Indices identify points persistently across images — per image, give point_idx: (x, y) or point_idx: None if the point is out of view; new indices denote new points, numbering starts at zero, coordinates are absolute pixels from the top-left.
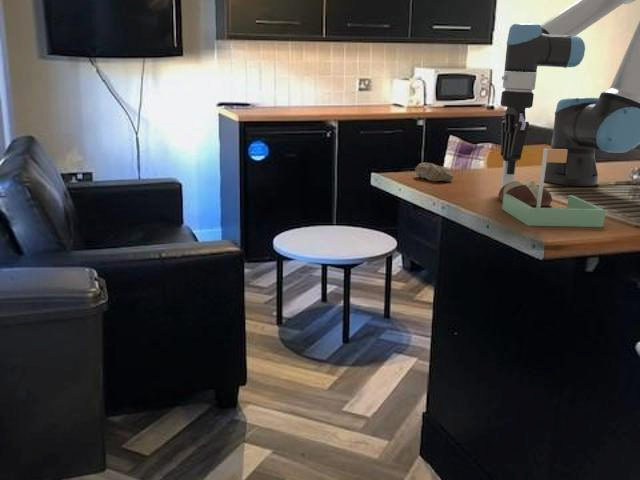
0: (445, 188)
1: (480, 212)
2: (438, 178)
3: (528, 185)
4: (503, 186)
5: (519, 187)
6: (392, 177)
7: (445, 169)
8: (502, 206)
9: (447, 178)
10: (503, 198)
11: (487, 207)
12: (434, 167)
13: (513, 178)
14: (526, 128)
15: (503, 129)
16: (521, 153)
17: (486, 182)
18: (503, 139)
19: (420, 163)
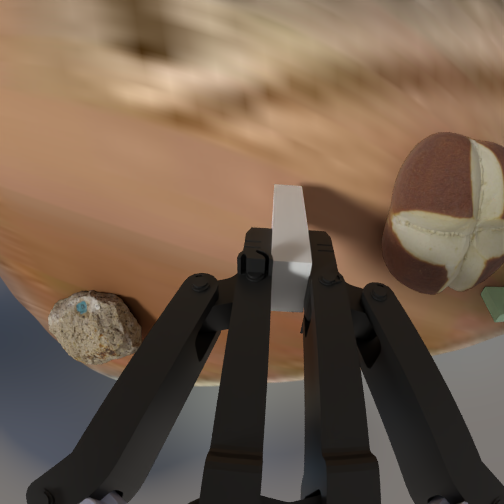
0: (226, 335)
1: (476, 333)
2: (140, 333)
3: (471, 228)
4: (423, 292)
5: (485, 276)
6: (121, 371)
7: (111, 336)
8: (483, 299)
9: (129, 315)
10: (491, 313)
11: (455, 314)
12: (118, 358)
13: (303, 208)
14: (491, 481)
15: (149, 468)
16: (408, 318)
17: (79, 193)
18: (180, 404)
19: (78, 360)
